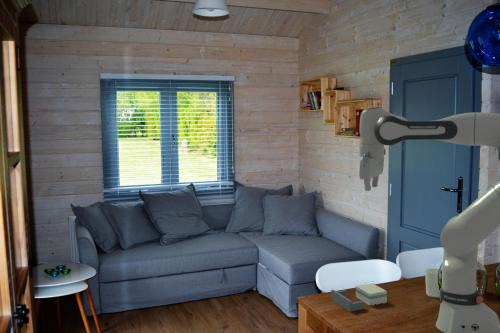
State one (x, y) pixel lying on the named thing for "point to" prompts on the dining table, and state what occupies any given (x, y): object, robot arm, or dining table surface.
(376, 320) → the dining table surface
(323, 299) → the dining table surface
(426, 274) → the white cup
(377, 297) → the cream rectangular block
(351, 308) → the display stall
